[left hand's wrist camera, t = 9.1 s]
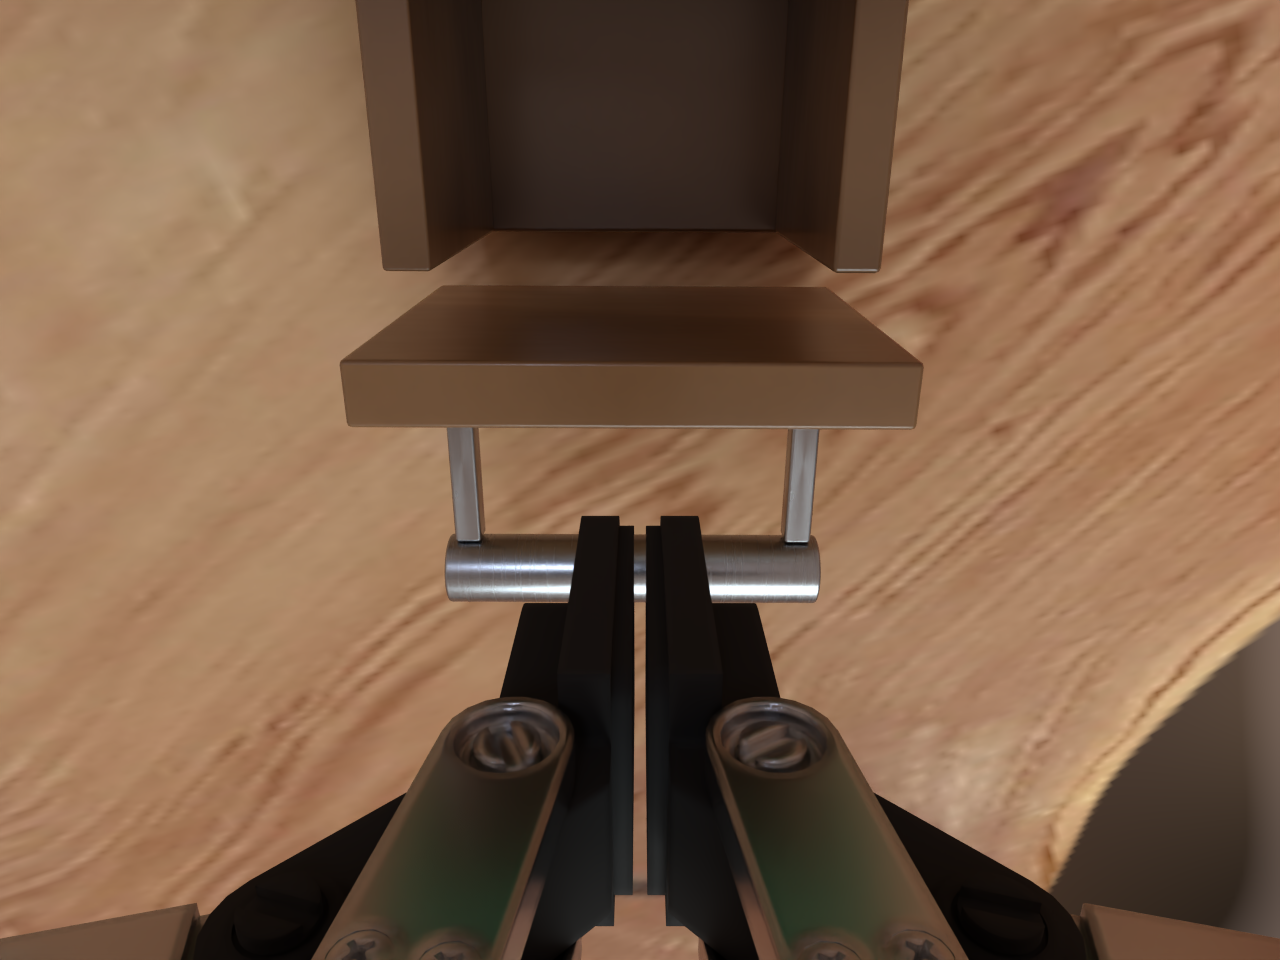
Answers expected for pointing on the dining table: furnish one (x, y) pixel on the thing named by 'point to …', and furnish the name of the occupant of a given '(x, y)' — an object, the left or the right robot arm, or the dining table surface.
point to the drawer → (632, 202)
